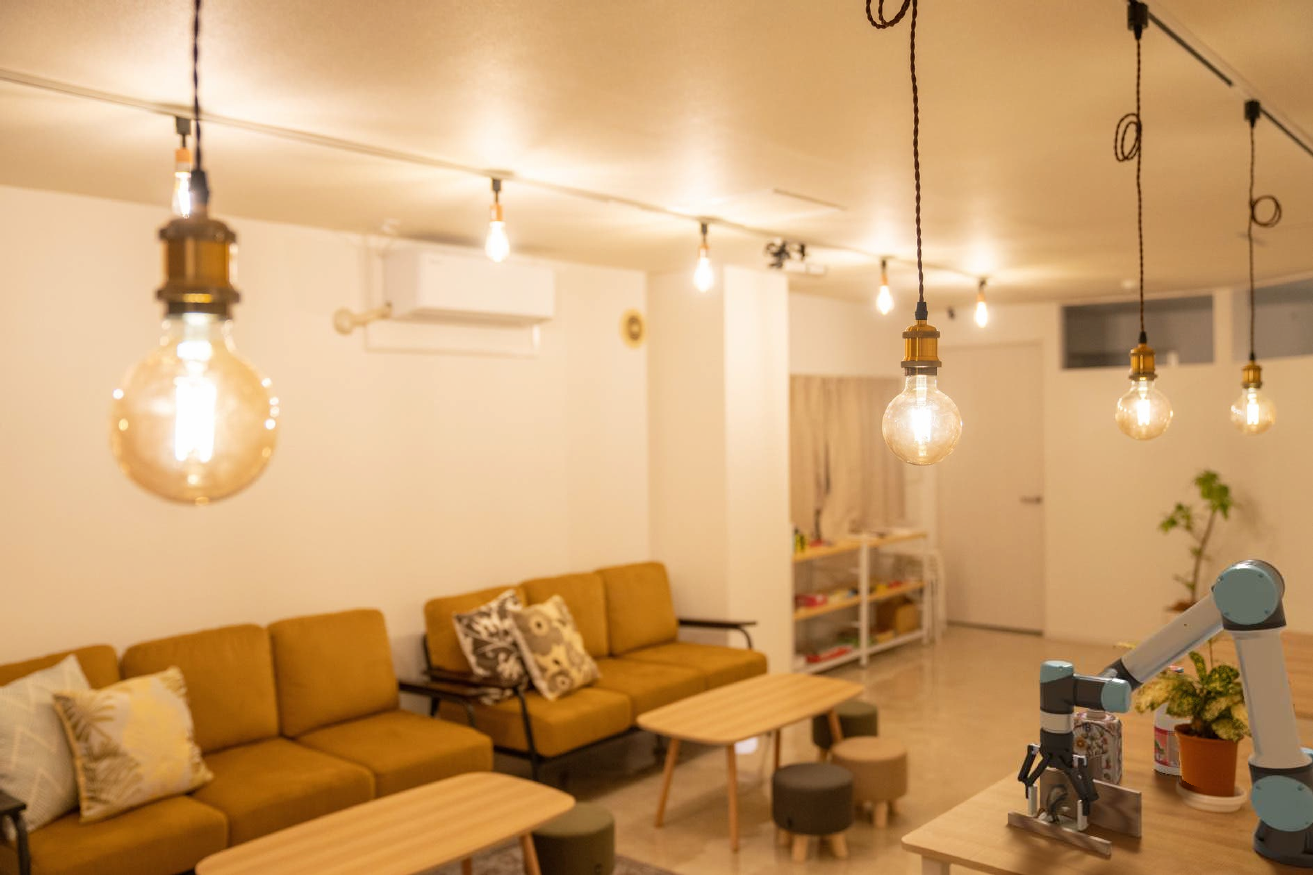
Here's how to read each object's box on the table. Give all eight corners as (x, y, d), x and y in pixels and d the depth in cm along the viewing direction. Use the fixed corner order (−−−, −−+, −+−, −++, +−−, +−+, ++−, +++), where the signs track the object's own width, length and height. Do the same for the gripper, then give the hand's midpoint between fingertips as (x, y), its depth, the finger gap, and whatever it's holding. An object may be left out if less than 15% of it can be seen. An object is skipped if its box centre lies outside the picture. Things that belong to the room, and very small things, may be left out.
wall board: (1141, 835, 233) (1141, 791, 233) (1108, 855, 223) (1108, 809, 223) (1043, 806, 251) (1042, 765, 251) (1007, 823, 241) (1007, 780, 241)
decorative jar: (1116, 786, 265) (1116, 717, 265) (1068, 778, 271) (1068, 710, 271) (1123, 773, 275) (1122, 706, 275) (1076, 765, 281) (1076, 700, 281)
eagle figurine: (1079, 830, 236) (1077, 791, 236) (1049, 832, 235) (1048, 794, 235) (1062, 816, 244) (1061, 779, 243) (1033, 819, 243) (1032, 782, 243)
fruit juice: (1186, 779, 270) (1186, 673, 269) (1148, 771, 276) (1148, 667, 276) (1198, 770, 276) (1198, 667, 276) (1161, 762, 283) (1161, 661, 283)
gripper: (1114, 736, 233) (1115, 831, 234) (1018, 714, 251) (1018, 802, 252) (1098, 743, 228) (1099, 840, 229) (1002, 720, 247) (1002, 810, 247)
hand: (1057, 820), depth 240 cm, fingers open, 11 cm apart
